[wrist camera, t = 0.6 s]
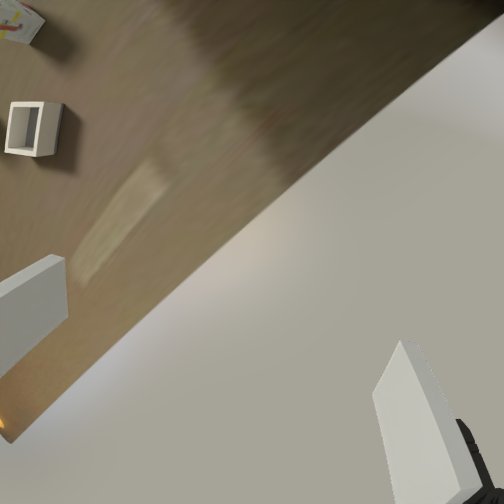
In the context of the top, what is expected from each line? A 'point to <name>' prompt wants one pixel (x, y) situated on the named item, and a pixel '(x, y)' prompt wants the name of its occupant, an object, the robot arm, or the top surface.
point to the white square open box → (33, 128)
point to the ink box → (18, 21)
